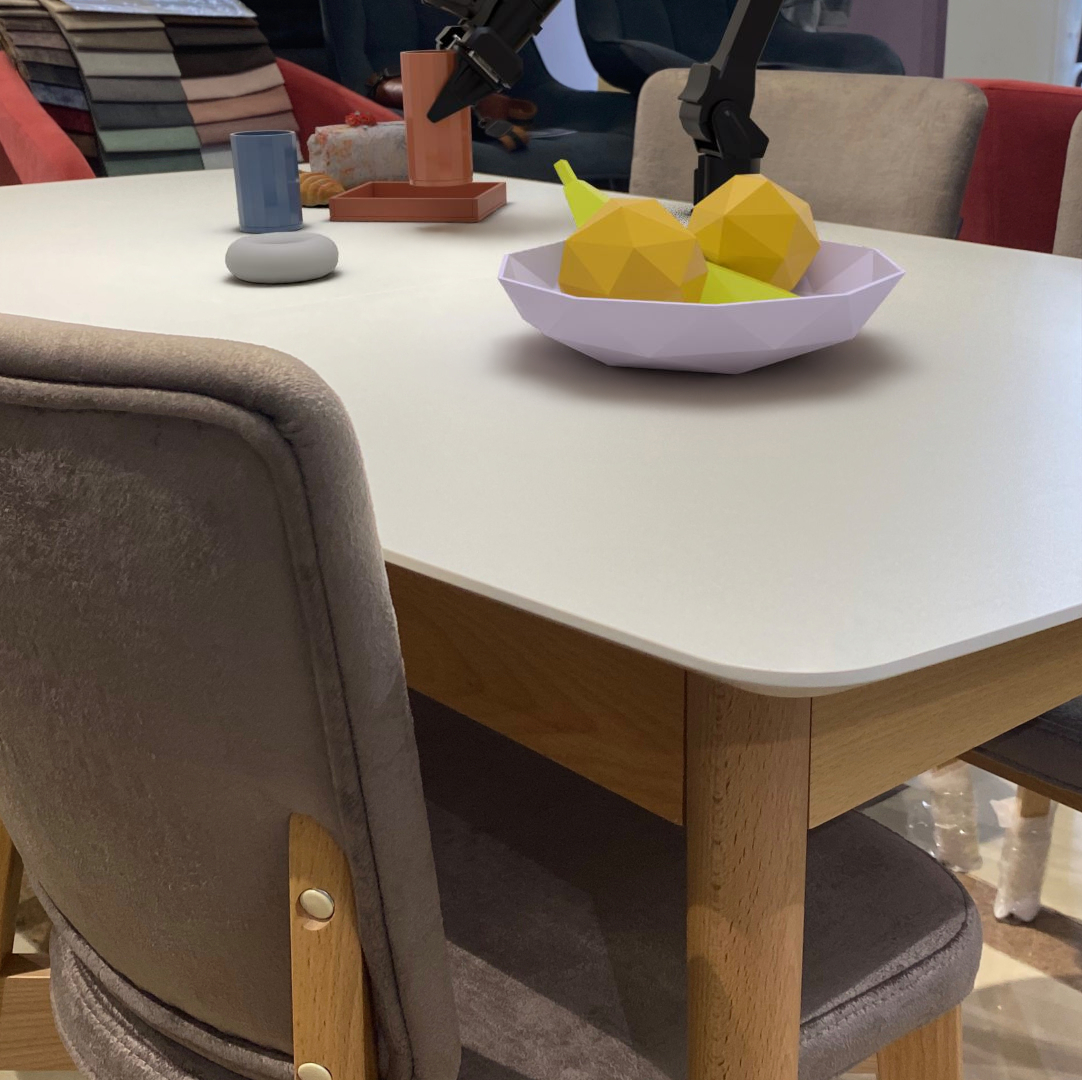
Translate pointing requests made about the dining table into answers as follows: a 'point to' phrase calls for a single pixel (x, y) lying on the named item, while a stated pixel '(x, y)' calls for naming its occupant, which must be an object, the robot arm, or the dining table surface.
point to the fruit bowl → (696, 280)
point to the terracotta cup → (438, 146)
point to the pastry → (317, 188)
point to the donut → (282, 257)
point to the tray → (418, 202)
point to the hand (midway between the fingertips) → (424, 117)
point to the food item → (360, 151)
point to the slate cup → (267, 181)
